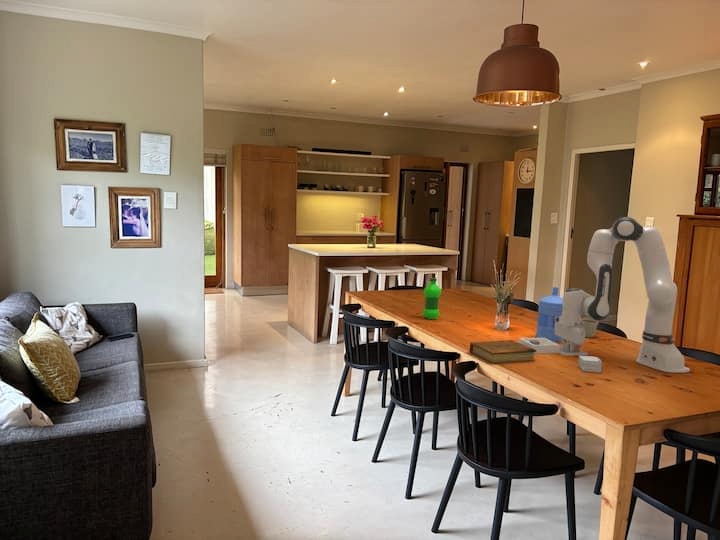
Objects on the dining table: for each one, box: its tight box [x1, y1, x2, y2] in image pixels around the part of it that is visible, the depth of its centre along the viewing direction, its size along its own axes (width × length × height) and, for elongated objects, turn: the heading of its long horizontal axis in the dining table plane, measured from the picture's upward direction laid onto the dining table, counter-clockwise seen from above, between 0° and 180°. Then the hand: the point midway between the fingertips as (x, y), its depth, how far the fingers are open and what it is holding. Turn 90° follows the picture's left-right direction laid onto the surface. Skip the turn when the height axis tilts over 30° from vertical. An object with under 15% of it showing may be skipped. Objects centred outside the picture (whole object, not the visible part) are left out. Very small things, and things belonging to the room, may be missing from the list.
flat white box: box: [517, 337, 561, 355], centre depth 256 cm, size 14×14×4 cm
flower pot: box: [580, 318, 600, 338], centre depth 291 cm, size 9×9×9 cm
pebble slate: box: [562, 341, 573, 352], centre depth 255 cm, size 4×3×4 cm
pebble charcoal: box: [530, 340, 540, 345], centre depth 256 cm, size 4×3×4 cm
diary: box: [469, 339, 536, 365], centre depth 242 cm, size 23×19×6 cm
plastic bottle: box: [422, 277, 442, 320], centre depth 319 cm, size 10×10×25 cm
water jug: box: [535, 286, 563, 343], centre depth 279 cm, size 16×16×28 cm
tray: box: [558, 345, 590, 357], centre depth 255 cm, size 14×13×1 cm
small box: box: [577, 355, 603, 374], centre depth 228 cm, size 8×8×5 cm
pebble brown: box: [573, 344, 581, 352], centre depth 256 cm, size 4×3×4 cm
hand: (567, 349), depth 255 cm, fingers closed on pebble slate, 4 cm apart
